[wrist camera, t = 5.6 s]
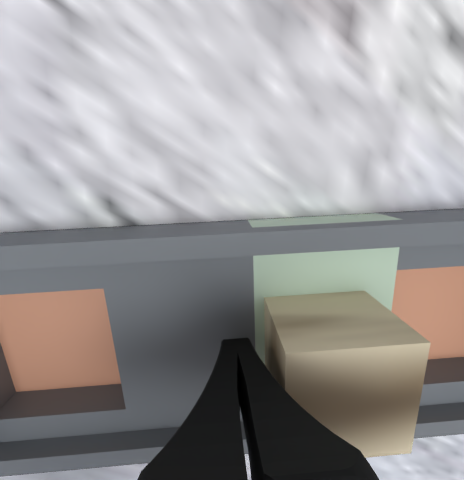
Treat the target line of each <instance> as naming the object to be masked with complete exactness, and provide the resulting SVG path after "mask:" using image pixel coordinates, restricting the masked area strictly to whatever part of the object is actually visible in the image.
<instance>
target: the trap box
mask: <svg viewBox="0 0 464 480" xmlns="http://www.w3.org/2000/svg"><path fill="white" fill-rule="evenodd" d="M351 291H366V292H367V293H368V294H370V295H371V296H372V297H373V298H375V299H376V300H377V301H379V302H380V303H381V304H382V305H384V306H385V307H386V308H387V309H389V310H390V311H391V312H392V313H394V314H395V315H396V316H398V317H399V318H400V319H401V320H403V321H404V322H405V323H406V324H408V325H409V326H410V327H412V328H413V329H414V330H415V331H417V332H418V333H419V334H420V335H422V336H423V337H424V338H426V339H427V340H428V341H429V342H431V344H430V349H429V355H428V360H427V366H426V372H425V377H424V383H423V388H422V394H421V400H420V405H419V411H418V416H417V422H416V428H415V433H414V438H424V437H435V436H446V435H457V434H464V209H446V210H427V211H408V212H389V213H370V214H351V215H331V216H312V217H293V218H274V219H255V220H236V221H217V222H198V223H179V224H160V225H141V226H122V227H103V228H84V229H65V230H46V231H27V232H8V233H0V477H1V476H12V475H23V474H34V473H45V472H56V471H66V470H77V469H88V468H99V467H110V466H121V465H132V464H142V463H150V462H151V461H152V460H153V458H154V457H155V456H156V455H157V454H158V453H159V452H160V451H161V450H162V449H163V447H164V446H165V445H166V444H167V443H168V441H169V440H170V439H171V438H172V436H173V435H174V434H175V433H176V431H177V430H178V429H179V428H180V426H181V425H182V423H183V422H184V421H185V419H186V418H187V416H188V415H189V413H190V412H191V410H192V409H193V407H194V406H195V404H196V402H197V401H198V399H199V397H200V395H201V394H202V392H203V390H204V388H205V386H206V384H207V382H208V380H209V378H210V375H211V373H212V371H213V368H214V366H215V363H216V361H217V358H218V355H219V351H220V347H221V341H222V340H223V339H236V338H249V339H250V341H251V343H252V345H253V347H254V349H255V351H256V352H257V354H258V355H259V357H260V359H261V360H262V362H263V363H264V364H265V325H264V297H276V296H291V295H306V294H321V293H336V292H351ZM240 422H241V430H242V439H243V447H244V454H248V447H247V442H246V436H245V431H244V425H243V420H242V414H241V409H240Z"/></svg>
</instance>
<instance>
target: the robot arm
mask: <svg viewBox="0 0 464 480" xmlns="http://www.w3.org/2000/svg"><path fill="white" fill-rule="evenodd" d="M240 409H241V414H242V420H243V425H244V431H245V436H246V442H247V447H248V454H249V460H250V469H251V479H252V480H379V479H378V477H377V475H376V474H375V472H374V470H373V469H372V467H371V466H370V464H369V463H368V461H367V460H366V458H365V457H364V455H363V454H362V452H361V451H360V450H359V449H357V448H356V447H354V446H353V445H351V444H350V443H348V442H347V441H345V440H344V439H342V438H341V437H339V436H337V435H336V434H334V433H333V432H332V431H330V430H329V429H328V428H326V427H325V426H324V425H322V424H321V423H320V422H319V421H317V420H316V419H315V418H314V417H313V416H312V415H310V414H309V413H308V412H307V411H306V410H305V409H303V408H302V407H301V406H300V405H299V404H298V403H297V402H296V401H295V400H294V399H293V398H292V397H291V396H290V395H289V394H288V393H287V392H286V391H285V390H284V388H283V387H282V386H281V385H280V384H279V383H278V381H277V380H276V379H275V378H274V377H273V375H272V374H271V373H270V371H269V370H268V369H267V367H266V366H265V364H264V363H263V362H262V360H261V359H260V357H259V355H258V354H257V352H256V351H255V349H254V347H253V345H252V343H251V341H250V339H249V338H236V339H223V340H222V341H221V347H220V351H219V355H218V358H217V361H216V363H215V366H214V368H213V371H212V373H211V375H210V378H209V380H208V382H207V384H206V386H205V388H204V390H203V392H202V394H201V395H200V397H199V399H198V401H197V402H196V404H195V406H194V407H193V409H192V410H191V412H190V413H189V415H188V416H187V418H186V419H185V421H184V422H183V423H182V425H181V426H180V428H179V429H178V430H177V431H176V433H175V434H174V435H173V436H172V438H171V439H170V440H169V441H168V443H167V444H166V445H165V446H164V447H163V449H162V450H161V451H160V452H159V453H158V454H157V455H156V456H155V457H154V458H153V460H152V461H151V462H150V463H149V464H148V465H147V466H146V467H145V468H144V469H143V470H142V471H141V473H140V475H139V478H138V480H248V479H247V472H246V464H245V456H244V447H243V439H242V430H241V422H240Z"/></svg>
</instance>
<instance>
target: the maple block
mask: <svg viewBox="0 0 464 480" xmlns="http://www.w3.org/2000/svg"><path fill="white" fill-rule="evenodd" d="M264 325H265V366H266V367H267V369H268V370H269V371H270V373H271V374H272V375H273V377H274V378H275V379H276V380H277V381H278V383H279V384H280V385H281V386H282V387H283V388H284V390H285V391H286V392H287V393H288V394H289V395H290V396H291V397H292V398H293V399H294V400H295V401H296V402H297V403H298V404H299V405H300V406H301V407H302V408H303V409H305V410H306V411H307V412H308V413H309V414H310V415H312V416H313V417H314V418H315V419H316V420H317V421H319V422H320V423H321V424H322V425H324V426H325V427H326V428H328V429H329V430H330V431H332V432H333V433H334V434H336V435H337V436H339V437H341V438H342V439H344V440H345V441H347V442H348V443H350V444H351V445H353V446H354V447H356V448H357V449H359V450H360V451H361V452H362V454H363V455H364V457H365V458H366V457H377V456H387V455H398V454H408V453H411V450H412V444H413V439H414V433H415V428H416V422H417V416H418V411H419V405H420V400H421V394H422V388H423V383H424V377H425V372H426V366H427V360H428V355H429V349H430V344H431V342H429V341H428V340H427V339H426V338H424V337H423V336H422V335H420V334H419V333H418V332H417V331H415V330H414V329H413V328H412V327H410V326H409V325H408V324H406V323H405V322H404V321H403V320H401V319H400V318H399V317H398V316H396V315H395V314H394V313H392V312H391V311H390V310H389V309H387V308H386V307H385V306H384V305H382V304H381V303H380V302H379V301H377V300H376V299H375V298H373V297H372V296H371V295H370V294H368V293H367V292H366V291H351V292H336V293H321V294H306V295H291V296H276V297H264Z"/></svg>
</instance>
